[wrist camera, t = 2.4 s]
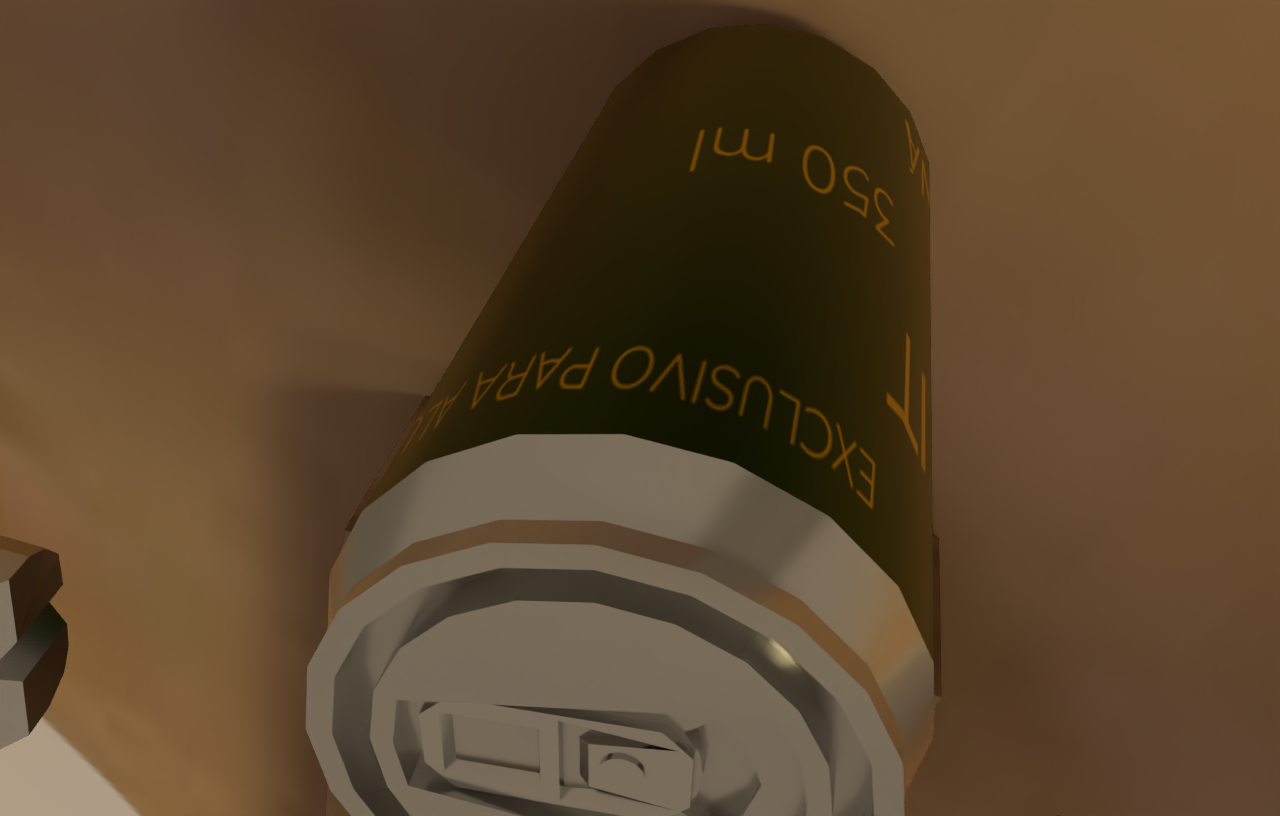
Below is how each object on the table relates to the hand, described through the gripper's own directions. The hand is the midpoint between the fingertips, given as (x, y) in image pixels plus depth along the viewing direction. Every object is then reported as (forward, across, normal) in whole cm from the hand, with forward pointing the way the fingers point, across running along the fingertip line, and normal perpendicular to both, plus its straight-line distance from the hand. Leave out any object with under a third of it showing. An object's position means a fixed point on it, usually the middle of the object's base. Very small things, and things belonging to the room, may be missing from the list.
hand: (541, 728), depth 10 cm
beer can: (+12, -1, 0) cm, 12 cm away
